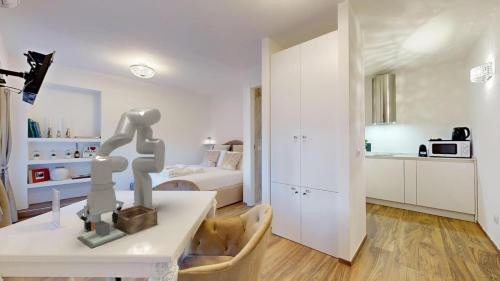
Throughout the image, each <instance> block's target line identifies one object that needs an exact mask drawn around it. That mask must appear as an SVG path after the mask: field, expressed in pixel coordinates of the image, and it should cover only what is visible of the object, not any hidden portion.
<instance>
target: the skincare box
mask: <svg viewBox="0 0 500 281" xmlns="http://www.w3.org/2000/svg"><path fill="white" fill-rule="evenodd" d="M85 207H86V203H85V204H84V205H83V208H85ZM83 216H84V217H86V216H87V214H86V212H84V213H83ZM90 221H91V231H94V230H96V224H95V223H96V222H99V221H102V214H100V215H96V216H93V217H92V219H91V220H90ZM83 232H84V233H86V232H88V231H87V230H86V229H85V221H83Z"/></svg>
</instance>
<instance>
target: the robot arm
mask: <svg viewBox="0 0 500 281" xmlns="http://www.w3.org/2000/svg"><path fill="white" fill-rule="evenodd" d="M161 116H162V115H161V112H160V110H159V109H157V108H154V107H147V108H146V107H145V108H143V107H139V108H132V109H130V110H128V111H124V112H123V113H122V114H121V116H120V118H119V121H118V123H117V126H116V128H115V131H114V133H113V135H112V136H111V137H109V138H107V139H106V140H105V141H104V142H103V143H101V145H100V146H99V147H98V148H97V149H96V151H95V155H94V157H93V159H92V160H91V161H90V191H87V197H86V203H85V204H86V207H85V208H84V207H83V208H82V209H80V210H79V211H78V212H76V216H77V217H78V218H79V220H81V221H83V222H84V221H85V229H86V230H87V231H86V232H91V231H92V230H91V221H90V220H91V219H92V217H93V216H96V215H100V214H101V215H103V214H108V213H111V222H112V224H113V223H117V220H118V214H119V211H120V210H122V209H123V206H124V204H125V202H124V201H120V200H117V195H116V191H115V188H114V186H116V184H117V182H116V181H113V173H122V172H124V171H126V170H127V169H128V168H129V160H128V159H127V158H126V157H124V156H121V155H117V156H116V155H114V156H113V155H111V153H112V152H114V151H115V150H116V149H117V150H118V149H119V148H120V147H123V146H126V145H128V144H130V143H132V141H133V140H134V136H135V135H136V141H135V142H136V143H135V151H136V153H137V154H139V155H149V156H139V157H135V158H133V160H132V162H131V169H132V173H133V203H132V205H133V207H134V206H137V205H142V206H145V207H148V208H151V209H154V210H156V206H155V205H153V178H152V176H151V175H150V174H158V173H160V174H161V172H163V171H164V170H165V169H164V168H165V163H166V162H165V160H166V158H165V156H166V145H165V141H164V140H163V139H161V138H153V134H154V132H153V128H152V127H151V126H154V125H156V124H157V123H159V121H160V120H161ZM150 155H154V156H150ZM117 205H118V206H117ZM84 212H86V214H87V216H86V217H84Z"/></svg>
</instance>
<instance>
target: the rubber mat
mask: <svg viewBox="0 0 500 281" xmlns="http://www.w3.org/2000/svg"><path fill="white" fill-rule="evenodd" d="M123 233H124V235H122V236H120V237H117V238H114V239H111V240H109V241H106V242H103V243H100V244H98V245H95V246H93V245H92V244H90V243H89V242H87V241H86V240H85V239H83V238H82V237H81V235H80V236H78V237H76V239H77V240H78V241H80V242H81V243H83V244H84V245H86V246H87V247H88V248H90V249H94V248H97V247H100V246H102V245H104V244H107V243H110V242H113V241H115V240H118V239H122V238H123V237H126V236H128V234H127V233H125V232H123Z"/></svg>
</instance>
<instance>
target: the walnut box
mask: <svg viewBox="0 0 500 281" xmlns="http://www.w3.org/2000/svg"><path fill="white" fill-rule="evenodd" d="M157 225H158V210H157V209H151V208H148V207H145V206H142V205H137V206H134V205H133V206H129V207H126V208H122V209H121V210H120V211H119V214H118V220H117V223H113V222H112V227H113V228H115V229H117V230H119V231H121V232H123V233H125V234H127V235H130V236H131V235H133V234H136V233H138V232H141V231H144V230H147V229H149V228H152V227H155V226H157Z"/></svg>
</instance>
